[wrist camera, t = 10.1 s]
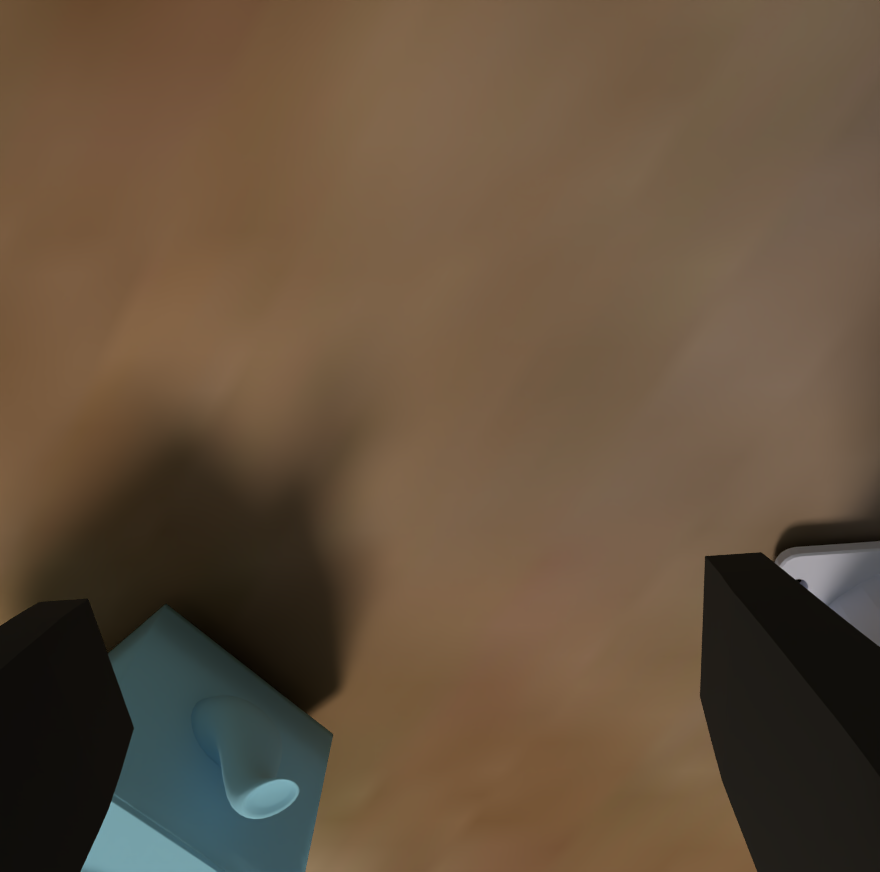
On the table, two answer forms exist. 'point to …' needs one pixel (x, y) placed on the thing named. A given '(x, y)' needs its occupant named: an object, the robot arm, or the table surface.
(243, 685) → the light blue knobbed box
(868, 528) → the table surface
